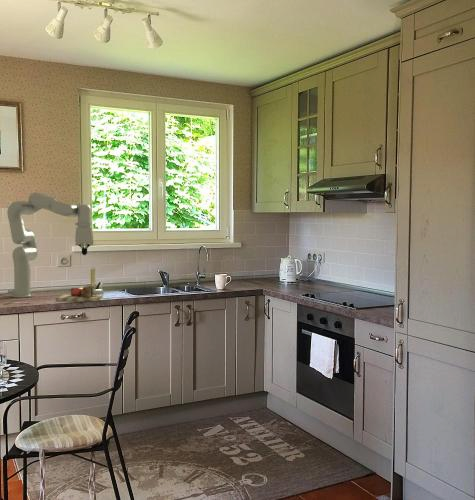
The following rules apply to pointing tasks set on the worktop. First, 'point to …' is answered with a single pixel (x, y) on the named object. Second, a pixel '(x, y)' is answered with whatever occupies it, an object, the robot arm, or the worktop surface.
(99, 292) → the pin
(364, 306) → the worktop surface
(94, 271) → the flap
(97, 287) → the hinge
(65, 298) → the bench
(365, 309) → the worktop surface
